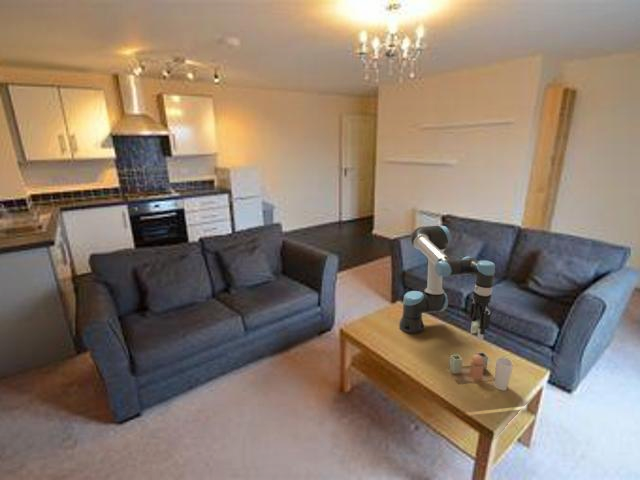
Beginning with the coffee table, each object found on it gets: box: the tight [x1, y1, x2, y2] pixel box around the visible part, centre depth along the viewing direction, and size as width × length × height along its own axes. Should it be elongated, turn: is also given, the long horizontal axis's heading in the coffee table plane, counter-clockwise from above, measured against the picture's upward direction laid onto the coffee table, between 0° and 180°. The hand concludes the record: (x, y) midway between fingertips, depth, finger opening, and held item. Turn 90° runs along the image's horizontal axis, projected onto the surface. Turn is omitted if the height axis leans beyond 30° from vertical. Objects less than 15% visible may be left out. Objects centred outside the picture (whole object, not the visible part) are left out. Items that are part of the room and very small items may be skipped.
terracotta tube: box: [470, 360, 484, 381], centre depth 164 cm, size 4×4×8 cm
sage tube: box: [449, 354, 464, 374], centre depth 169 cm, size 4×4×8 cm
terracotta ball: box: [471, 354, 484, 365], centre depth 162 cm, size 5×5×5 cm
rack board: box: [445, 364, 495, 385], centre depth 168 cm, size 12×20×1 cm, turn 97°
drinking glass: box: [494, 356, 514, 391], centre depth 157 cm, size 7×7×15 cm
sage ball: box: [472, 320, 480, 333], centre depth 164 cm, size 5×5×5 cm
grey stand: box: [475, 351, 489, 371], centre depth 170 cm, size 4×4×8 cm
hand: (476, 335), depth 166 cm, fingers closed on sage ball, 5 cm apart
